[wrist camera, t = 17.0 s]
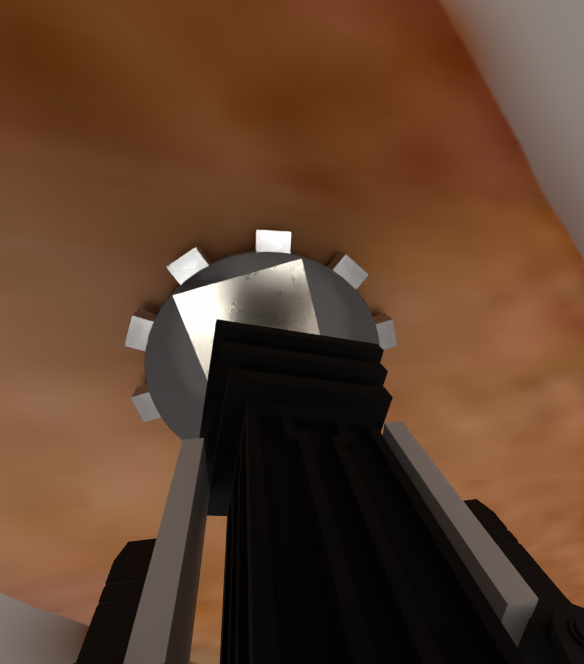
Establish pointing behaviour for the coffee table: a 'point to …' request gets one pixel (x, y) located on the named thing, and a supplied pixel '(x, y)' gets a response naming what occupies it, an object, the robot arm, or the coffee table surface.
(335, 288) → the sprocket
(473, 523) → the robot arm
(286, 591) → the chess piece
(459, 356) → the coffee table surface
